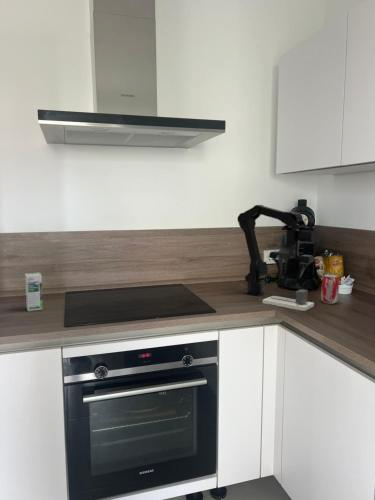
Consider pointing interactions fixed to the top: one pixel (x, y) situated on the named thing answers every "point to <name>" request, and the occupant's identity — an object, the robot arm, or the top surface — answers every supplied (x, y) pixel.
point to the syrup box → (34, 291)
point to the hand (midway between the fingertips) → (289, 276)
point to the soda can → (330, 289)
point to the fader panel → (287, 303)
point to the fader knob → (301, 296)
